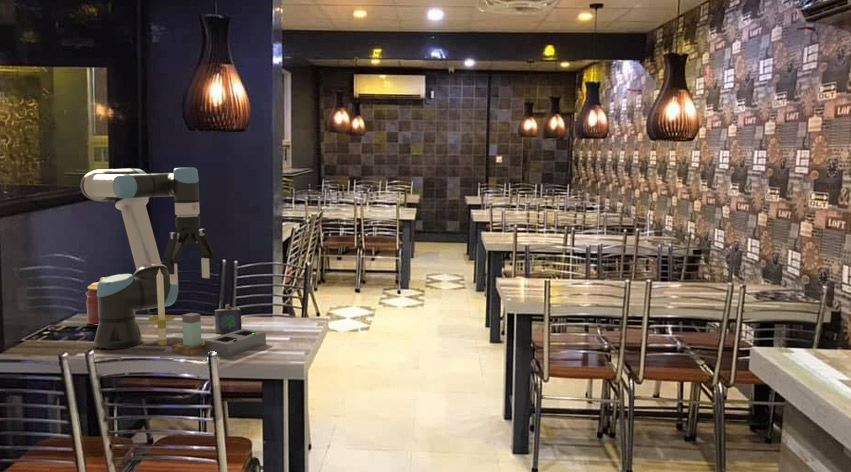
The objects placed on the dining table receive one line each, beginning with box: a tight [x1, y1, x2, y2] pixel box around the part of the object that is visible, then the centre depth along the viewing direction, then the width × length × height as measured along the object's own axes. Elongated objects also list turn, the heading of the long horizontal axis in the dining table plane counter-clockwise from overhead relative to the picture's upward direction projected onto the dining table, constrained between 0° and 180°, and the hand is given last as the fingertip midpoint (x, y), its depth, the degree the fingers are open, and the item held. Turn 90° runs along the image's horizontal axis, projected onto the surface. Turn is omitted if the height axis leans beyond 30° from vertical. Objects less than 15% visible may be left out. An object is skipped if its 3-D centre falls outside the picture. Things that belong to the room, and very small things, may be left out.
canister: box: [85, 276, 106, 324], centre depth 285 cm, size 13×13×18 cm
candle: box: [148, 268, 176, 346], centre depth 250 cm, size 10×10×27 cm
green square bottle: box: [181, 312, 202, 347], centre depth 242 cm, size 4×4×12 cm
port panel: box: [203, 328, 267, 358], centre depth 245 cm, size 10×18×5 cm, turn 151°
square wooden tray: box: [171, 340, 205, 357], centre depth 243 cm, size 9×9×3 cm
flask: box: [214, 303, 243, 336], centre depth 268 cm, size 9×3×11 cm, turn 105°
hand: (190, 281), depth 240 cm, fingers open, 13 cm apart
